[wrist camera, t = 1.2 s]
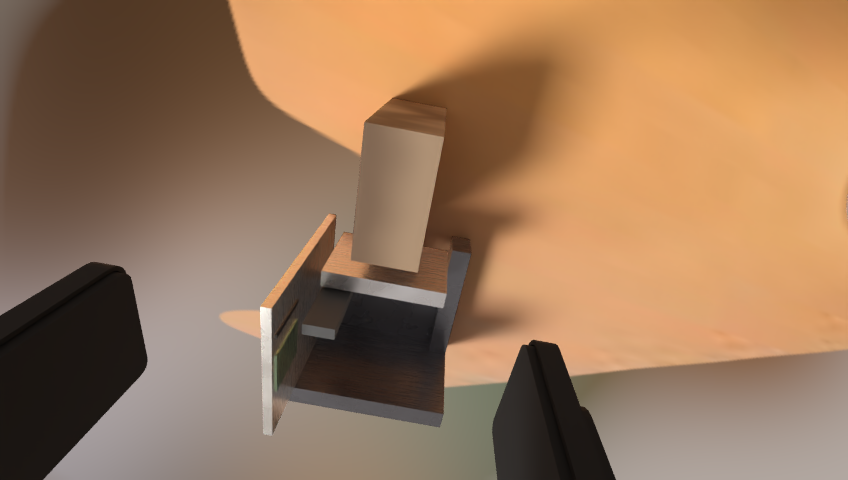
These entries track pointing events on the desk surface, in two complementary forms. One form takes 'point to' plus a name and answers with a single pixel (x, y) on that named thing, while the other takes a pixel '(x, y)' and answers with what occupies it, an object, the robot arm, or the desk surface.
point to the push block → (397, 183)
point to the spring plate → (388, 276)
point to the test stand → (357, 344)
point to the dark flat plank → (326, 313)
